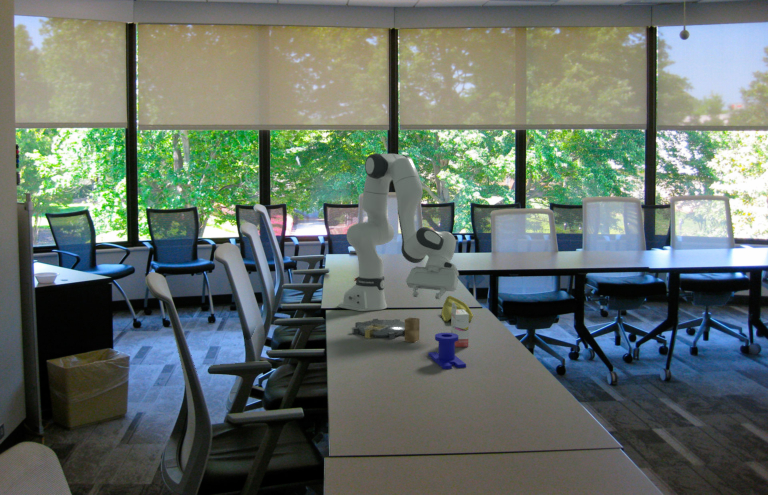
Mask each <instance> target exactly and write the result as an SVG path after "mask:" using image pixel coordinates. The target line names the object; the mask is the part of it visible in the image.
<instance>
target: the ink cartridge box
mask: <svg viewBox="0 0 768 495" xmlns="http://www.w3.org/2000/svg"><path fill="white" fill-rule="evenodd" d="M453 307H455V309H454V308H453ZM456 309H457V306H456V305H455V304H454V303H453V302H452V310H451V319H450V320H451V321H450V323H451V325H450V333H454V334H457V335H458V341H456V342H455V348H465V347H466V348H467V347H469V325H470V324H469V323H470V322H469V314H468V313H467V312H466V311H465V310H464V309H460V310H456Z"/></svg>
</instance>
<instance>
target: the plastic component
mask: <svg viewBox="0 0 768 495" xmlns="http://www.w3.org/2000/svg"><path fill="white" fill-rule="evenodd" d="M452 302H453V303H454V304H455V305H456V306H457V309H456V310H460V309H464V310H465V311H466V312H467V313H468V314H469V323H470V322H471V321H472V319H473V317H474V314H473V313H472V310H471V308H470V307H469V305H468V304H466V303H465V302H464V301H461V300H460V299H459V298H456V297H453V296H452V295H448V296H446V299H445V301H444V303H443V305H442V309H441V318H442V321H444V322H445V323H446V322H447V323H448V322H449V321H450V320H451V310H452ZM453 308H454V309H455V307H453Z"/></svg>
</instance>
